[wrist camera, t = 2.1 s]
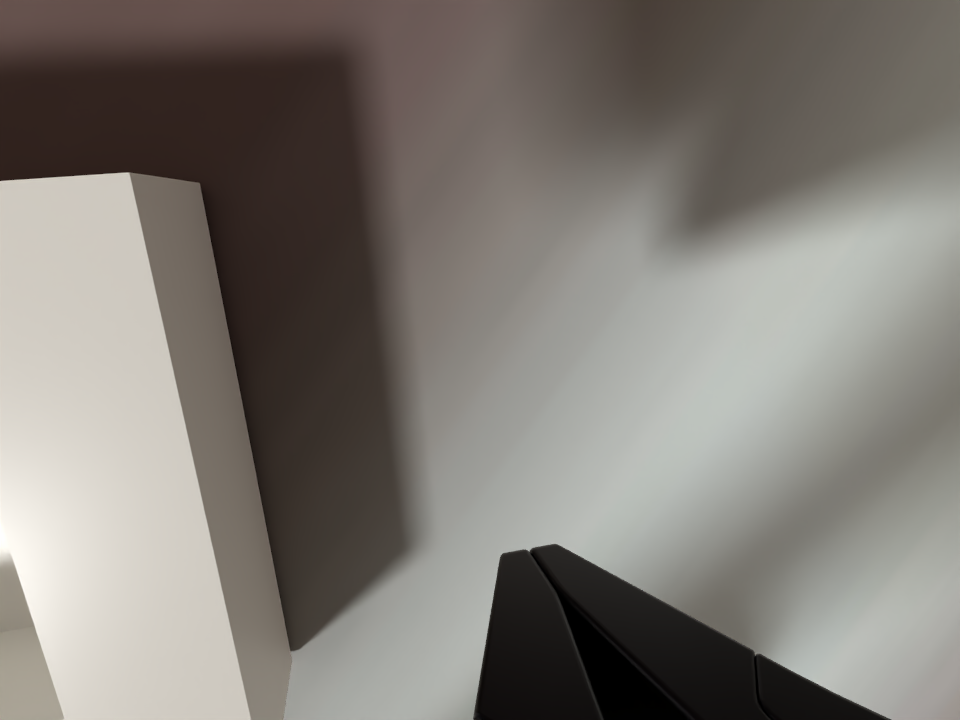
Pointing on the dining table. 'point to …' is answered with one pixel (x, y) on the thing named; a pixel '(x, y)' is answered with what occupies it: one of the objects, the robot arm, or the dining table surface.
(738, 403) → the dining table surface
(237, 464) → the socket block
